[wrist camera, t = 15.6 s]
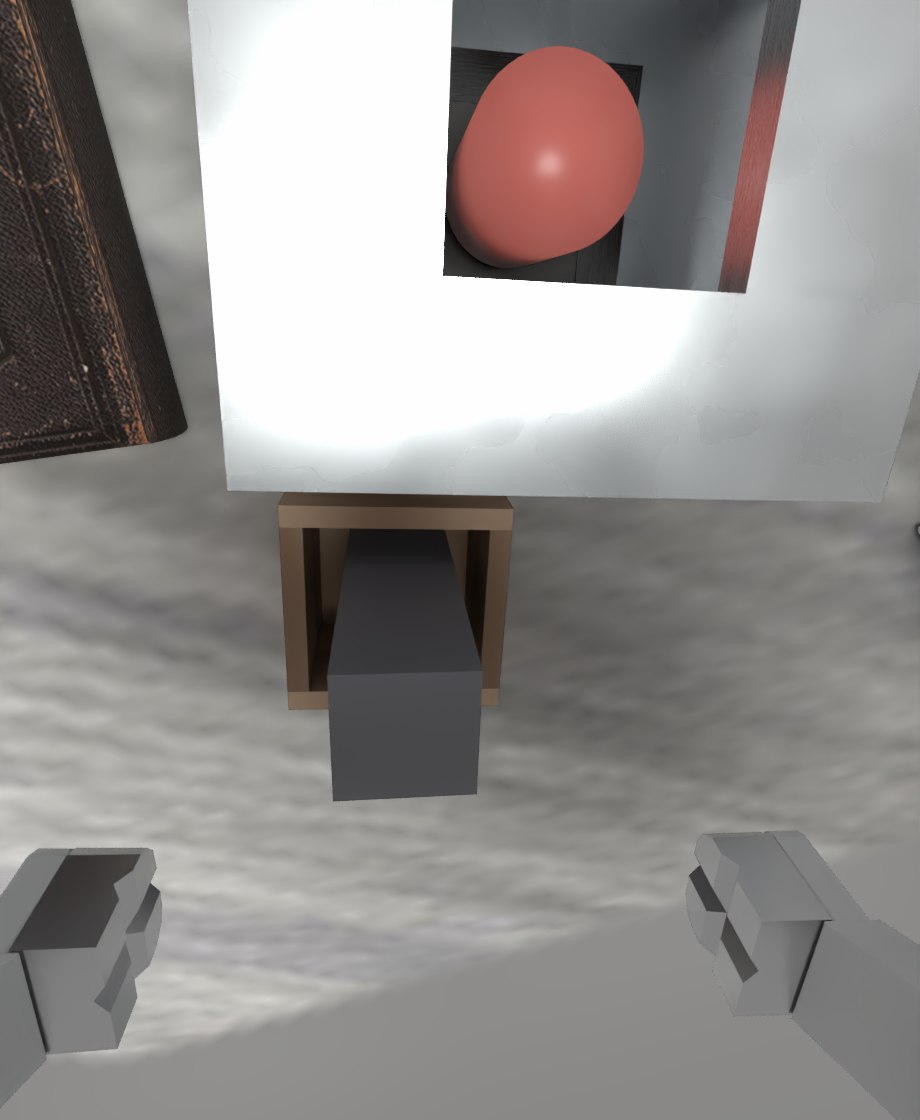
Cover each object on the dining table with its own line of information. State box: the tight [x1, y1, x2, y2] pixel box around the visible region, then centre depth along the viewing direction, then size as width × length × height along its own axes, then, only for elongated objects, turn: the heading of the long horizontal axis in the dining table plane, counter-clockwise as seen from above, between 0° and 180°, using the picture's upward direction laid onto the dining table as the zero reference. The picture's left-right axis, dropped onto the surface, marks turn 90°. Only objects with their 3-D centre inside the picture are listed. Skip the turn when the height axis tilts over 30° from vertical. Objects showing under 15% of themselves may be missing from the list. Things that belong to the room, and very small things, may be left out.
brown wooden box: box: [278, 492, 514, 710], centre depth 21 cm, size 6×6×5 cm
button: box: [445, 46, 644, 268], centre depth 15 cm, size 4×4×5 cm
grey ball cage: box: [187, 0, 920, 503], centre depth 14 cm, size 12×12×11 cm
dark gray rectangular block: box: [327, 528, 483, 801], centre depth 18 cm, size 3×3×10 cm
